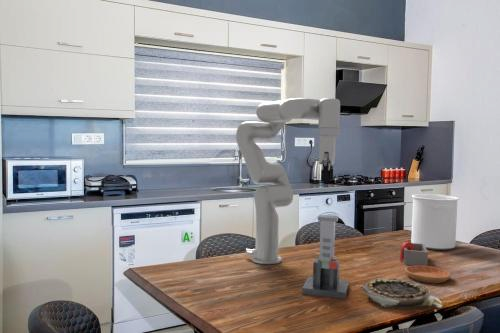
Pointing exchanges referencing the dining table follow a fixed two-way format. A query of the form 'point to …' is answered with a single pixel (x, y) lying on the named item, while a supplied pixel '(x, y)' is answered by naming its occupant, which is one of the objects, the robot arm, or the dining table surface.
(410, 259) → the bracket rest
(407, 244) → the bracket
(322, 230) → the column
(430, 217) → the bucket
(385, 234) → the dining table surface
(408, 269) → the saucer
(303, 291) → the stand
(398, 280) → the pie
